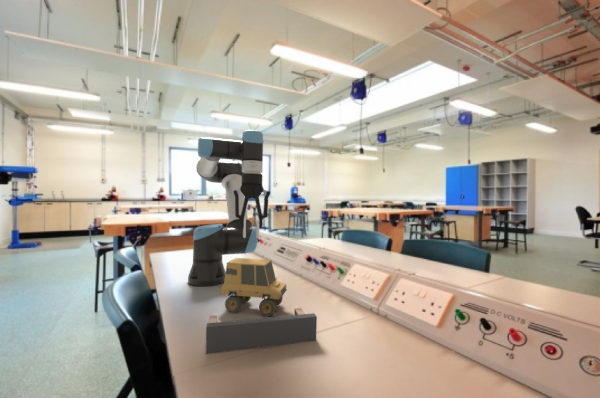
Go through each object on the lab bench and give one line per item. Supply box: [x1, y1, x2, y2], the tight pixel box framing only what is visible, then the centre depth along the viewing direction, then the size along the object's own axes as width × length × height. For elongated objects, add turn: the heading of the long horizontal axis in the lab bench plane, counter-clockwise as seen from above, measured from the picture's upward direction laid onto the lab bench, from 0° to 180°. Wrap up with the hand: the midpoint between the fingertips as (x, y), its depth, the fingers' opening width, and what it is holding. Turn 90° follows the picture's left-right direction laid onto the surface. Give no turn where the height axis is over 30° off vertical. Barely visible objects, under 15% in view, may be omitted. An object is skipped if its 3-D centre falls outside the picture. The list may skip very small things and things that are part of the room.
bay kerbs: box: [208, 307, 306, 323], centre depth 74 cm, size 12×26×2 cm, turn 105°
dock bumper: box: [205, 312, 318, 355], centre depth 67 cm, size 2×26×6 cm, turn 105°
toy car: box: [219, 257, 287, 317], centre depth 88 cm, size 10×19×15 cm, turn 79°
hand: (251, 236), depth 102 cm, fingers open, 4 cm apart
